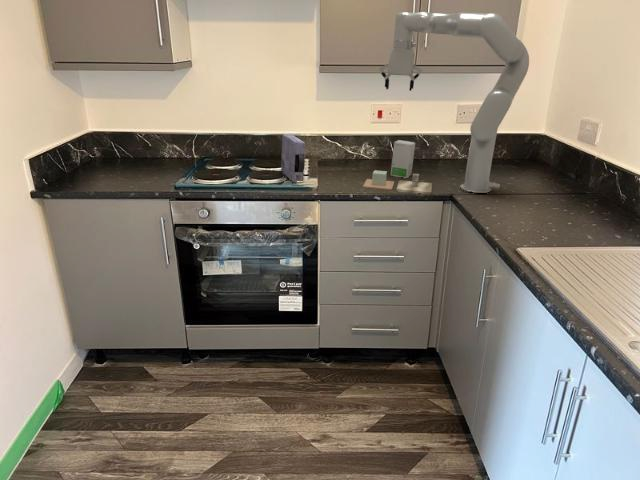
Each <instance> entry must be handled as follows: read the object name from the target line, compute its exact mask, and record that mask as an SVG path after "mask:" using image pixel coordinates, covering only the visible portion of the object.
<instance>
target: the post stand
mask: <svg viewBox="0 0 640 480" xmlns="http://www.w3.org/2000/svg"><path fill="white" fill-rule="evenodd" d="M419 175H420V174H419V173H412V178H411V179H412V180H411V181H410V180H399V181H398V183H397V185H396V186H397V187H396V190H395V191H396V192H400V193H408V194H409V193H410V194H418V193H421V195H431V196H432V188H433V183H432V182H422V181H421V182H420V181H419Z"/></svg>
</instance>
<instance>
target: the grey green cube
mask: <svg viewBox="0 0 640 480" xmlns="http://www.w3.org/2000/svg"><path fill="white" fill-rule="evenodd" d="M387 173H388V171H387V170H386V171H385V170H376V169H375V170H374V171H373V172H372V185H379V186H385V184H386V181H387V176H388V175H387Z"/></svg>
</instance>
